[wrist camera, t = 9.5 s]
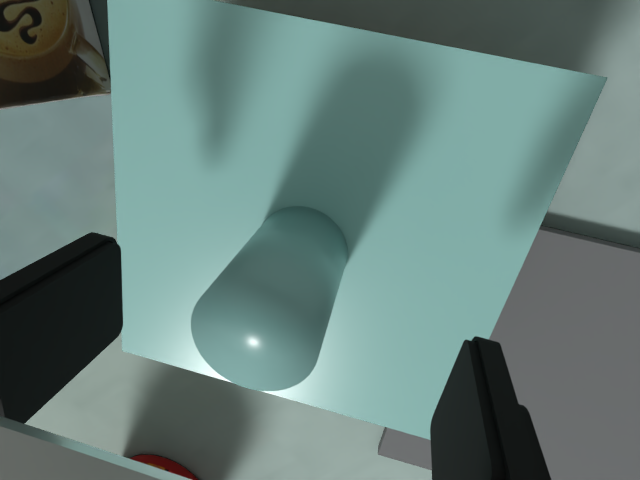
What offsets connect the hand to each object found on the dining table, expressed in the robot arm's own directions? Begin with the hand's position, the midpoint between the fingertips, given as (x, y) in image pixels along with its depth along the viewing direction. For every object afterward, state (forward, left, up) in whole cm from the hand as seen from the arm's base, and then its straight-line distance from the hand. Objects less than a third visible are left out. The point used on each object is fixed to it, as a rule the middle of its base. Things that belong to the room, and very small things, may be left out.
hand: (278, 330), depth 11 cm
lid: (0, 0, -5) cm, 5 cm away
